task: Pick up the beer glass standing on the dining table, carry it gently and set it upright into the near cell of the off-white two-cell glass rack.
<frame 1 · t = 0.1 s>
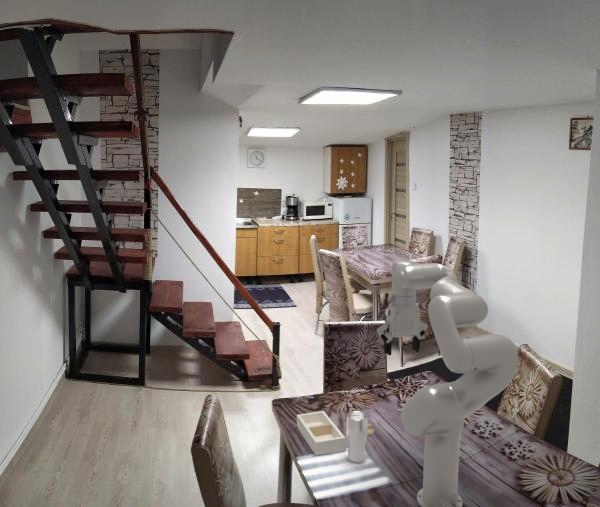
hand: (401, 352, 171), 37 cm above the table, tool pointing down, fingers open, 9 cm apart
cork trivet: (360, 430, 196), on the table
rack: (319, 438, 190), on the table
beer glass: (356, 458, 178), on the table
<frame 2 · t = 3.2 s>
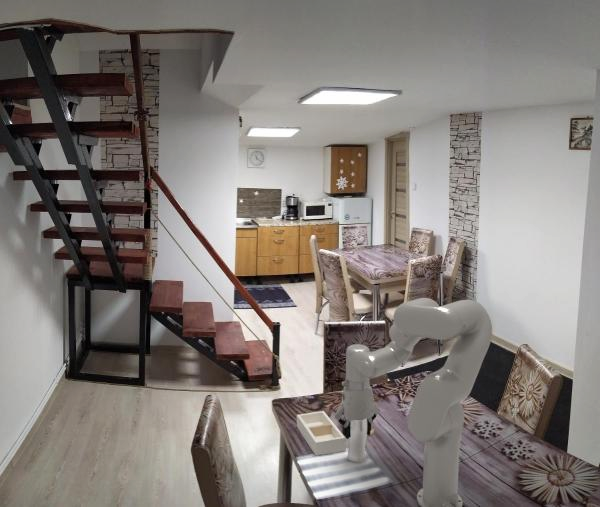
hand: (356, 434, 176), 8 cm above the table, tool pointing down, fingers closed on beer glass, 6 cm apart
beer glass: (356, 458, 178), on the table, touching gripper
when the fingers open (11 cm above the table, at t = 8.8 s): beer glass drops 1 cm, resting on rack.
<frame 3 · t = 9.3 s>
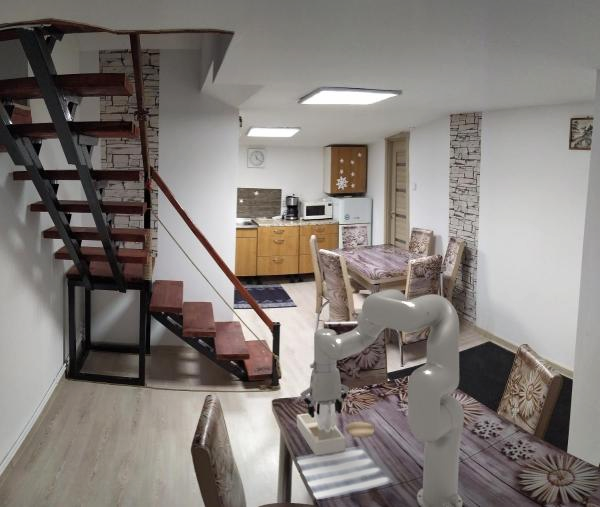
hand: (325, 413, 184), 11 cm above the table, tool pointing down, fingers open, 9 cm apart
beer glass: (325, 442, 185), point 1 cm above the table, touching rack
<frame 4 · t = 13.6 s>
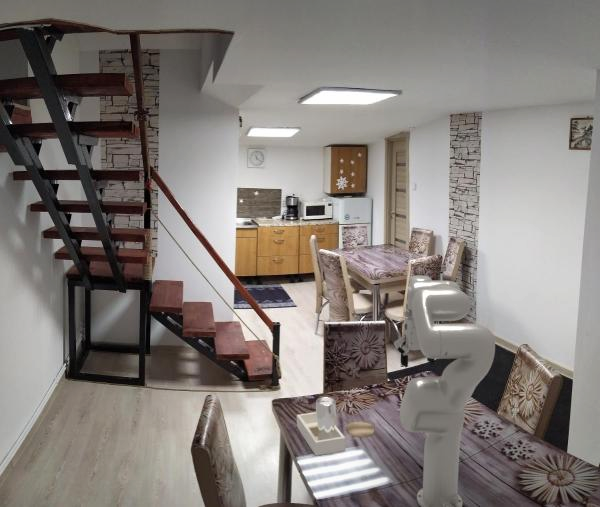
hand: (417, 364, 178), 30 cm above the table, tool pointing down, fingers open, 9 cm apart
nothing on the table moved.
at the end: beer glass 0.4 cm from the target spot on the rack, point 1.0 cm above the rack's base; beer glass tilted 0°; the gripper is holding nothing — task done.
